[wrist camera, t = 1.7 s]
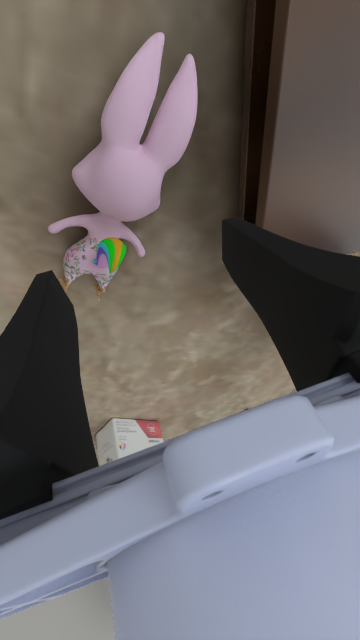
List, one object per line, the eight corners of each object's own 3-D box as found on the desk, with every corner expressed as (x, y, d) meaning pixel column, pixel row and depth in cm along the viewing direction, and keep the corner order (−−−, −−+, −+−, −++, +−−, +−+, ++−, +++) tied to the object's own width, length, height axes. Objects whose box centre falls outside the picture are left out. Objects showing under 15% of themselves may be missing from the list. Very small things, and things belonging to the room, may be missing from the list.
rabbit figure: (118, 275, 24) (222, 74, 14) (127, 334, 21) (269, 125, 11) (36, 258, 21) (99, -20, 11) (32, 325, 17) (115, 15, 8)
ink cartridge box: (159, 419, 44) (190, 530, 35) (141, 434, 46) (166, 543, 37) (111, 416, 39) (132, 547, 29) (94, 434, 41) (108, 561, 31)
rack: (332, 215, 25) (375, 246, 22) (228, 247, 24) (256, 284, 21) (464, -199, 11) (631, -283, 8) (233, -170, 10) (318, -253, 7)
